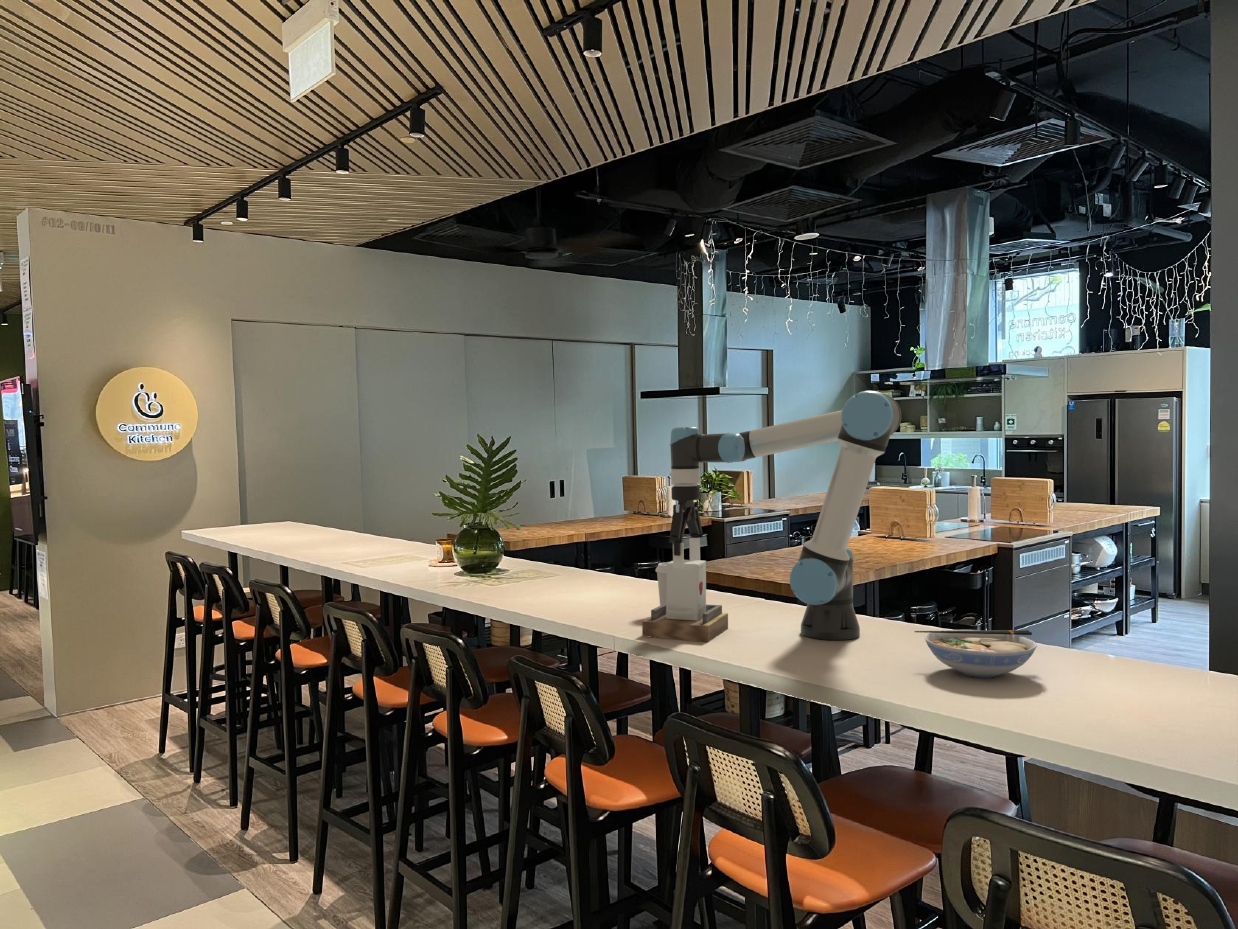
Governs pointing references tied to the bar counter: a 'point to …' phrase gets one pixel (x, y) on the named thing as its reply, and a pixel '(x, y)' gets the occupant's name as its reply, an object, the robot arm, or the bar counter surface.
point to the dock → (686, 625)
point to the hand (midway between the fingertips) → (687, 565)
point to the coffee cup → (662, 581)
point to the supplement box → (686, 590)
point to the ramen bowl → (981, 650)
